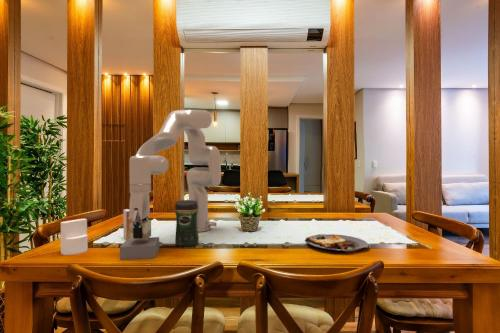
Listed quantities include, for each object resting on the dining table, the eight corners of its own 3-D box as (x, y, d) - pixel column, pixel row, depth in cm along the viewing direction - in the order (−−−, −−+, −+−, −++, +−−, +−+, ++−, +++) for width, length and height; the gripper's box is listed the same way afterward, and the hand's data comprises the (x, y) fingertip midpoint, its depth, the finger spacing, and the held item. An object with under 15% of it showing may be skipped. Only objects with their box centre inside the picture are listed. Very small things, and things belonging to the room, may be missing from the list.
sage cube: (151, 235, 119) (151, 220, 119) (146, 239, 113) (146, 223, 113) (135, 235, 119) (135, 220, 119) (129, 240, 113) (129, 223, 113)
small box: (126, 240, 135) (125, 211, 134) (123, 237, 140) (123, 209, 140) (145, 238, 139) (144, 209, 139) (141, 235, 144) (141, 207, 144)
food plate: (331, 257, 111) (332, 248, 111) (294, 243, 131) (294, 234, 131) (379, 250, 122) (379, 241, 122) (337, 237, 143) (338, 230, 143)
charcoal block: (159, 249, 123) (159, 237, 123) (155, 259, 111) (154, 245, 111) (127, 250, 121) (127, 238, 121) (120, 260, 109) (119, 246, 109)
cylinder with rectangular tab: (68, 256, 113) (68, 224, 113) (56, 252, 118) (55, 221, 117) (92, 250, 121) (91, 219, 120) (79, 246, 125) (79, 217, 125)
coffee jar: (199, 241, 133) (199, 199, 133) (196, 246, 125) (196, 201, 125) (177, 241, 133) (177, 199, 133) (173, 246, 125) (172, 201, 125)
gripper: (138, 186, 124) (138, 230, 124) (121, 190, 107) (121, 242, 107) (156, 186, 124) (157, 230, 124) (143, 190, 107) (143, 242, 107)
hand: (140, 235), depth 116 cm, fingers closed on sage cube, 6 cm apart
